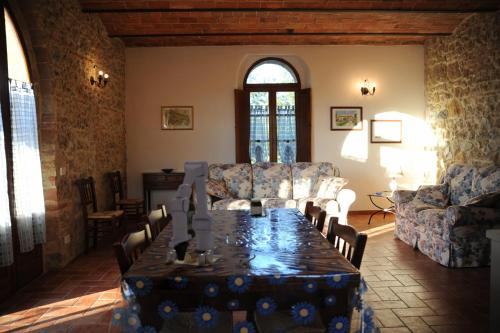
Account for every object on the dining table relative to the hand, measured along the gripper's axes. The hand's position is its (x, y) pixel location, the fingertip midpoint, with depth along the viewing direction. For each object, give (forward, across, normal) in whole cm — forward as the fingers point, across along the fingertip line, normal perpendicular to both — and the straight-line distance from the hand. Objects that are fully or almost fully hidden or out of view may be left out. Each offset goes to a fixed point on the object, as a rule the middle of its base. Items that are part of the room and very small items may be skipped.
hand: (181, 260), depth 165 cm
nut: (+2, -8, 0) cm, 8 cm away
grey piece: (+2, -8, 0) cm, 9 cm away
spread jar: (+3, -123, -10) cm, 124 cm away
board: (+3, -11, 0) cm, 12 cm away
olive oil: (+3, -53, -28) cm, 60 cm away
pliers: (+4, -18, +22) cm, 29 cm away
